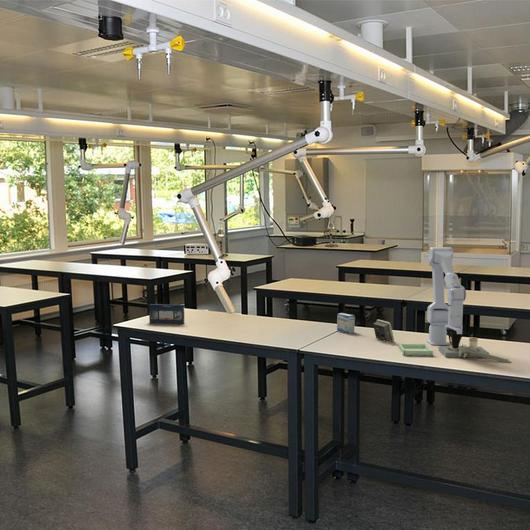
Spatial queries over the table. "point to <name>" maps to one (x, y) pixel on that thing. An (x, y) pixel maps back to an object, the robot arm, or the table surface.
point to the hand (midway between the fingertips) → (454, 346)
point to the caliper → (479, 354)
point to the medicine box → (345, 322)
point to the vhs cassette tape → (166, 313)
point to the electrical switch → (383, 330)
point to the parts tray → (415, 349)
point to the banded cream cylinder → (452, 347)
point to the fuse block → (447, 353)
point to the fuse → (473, 343)
